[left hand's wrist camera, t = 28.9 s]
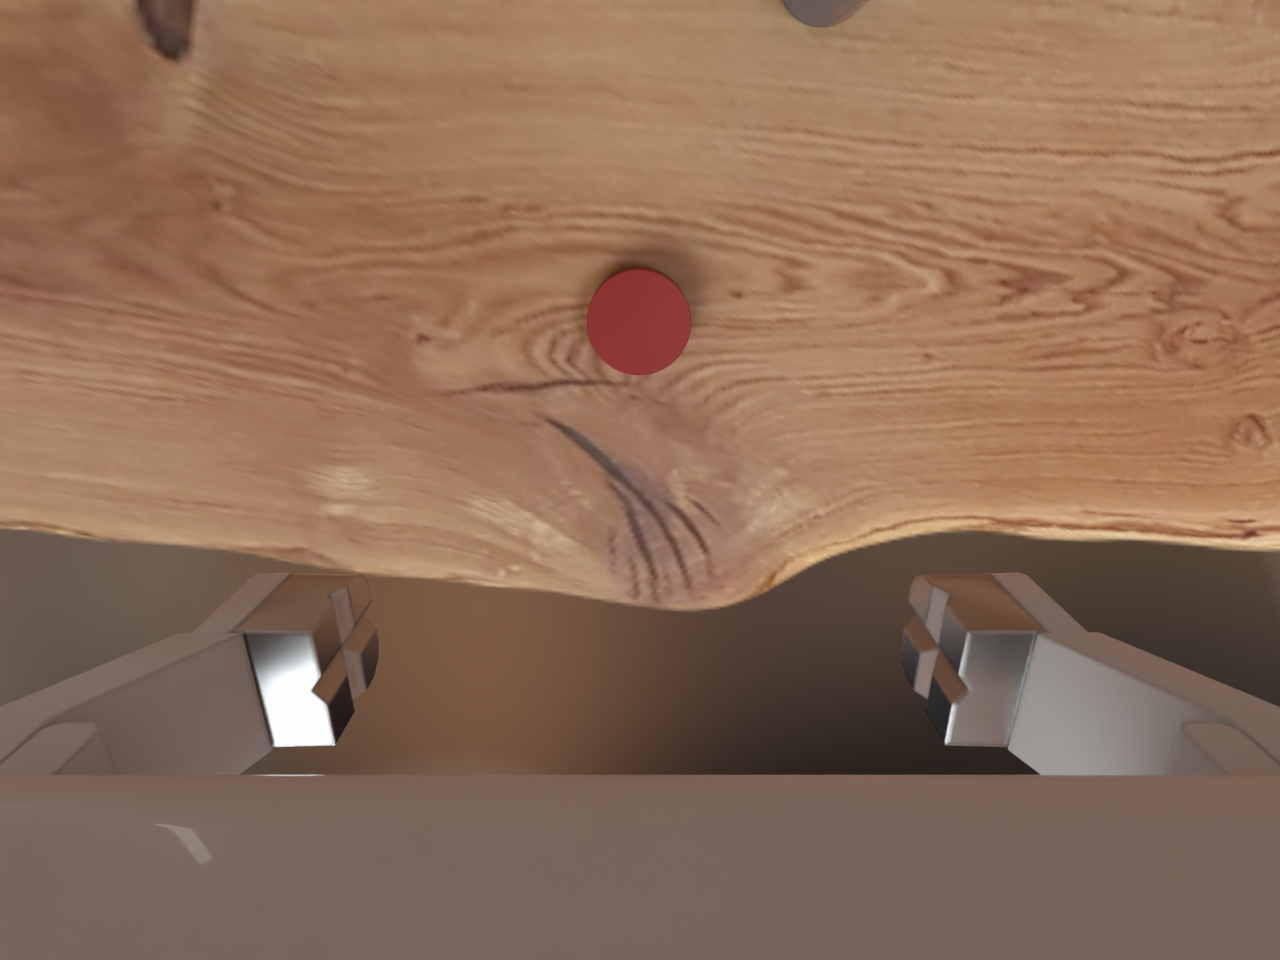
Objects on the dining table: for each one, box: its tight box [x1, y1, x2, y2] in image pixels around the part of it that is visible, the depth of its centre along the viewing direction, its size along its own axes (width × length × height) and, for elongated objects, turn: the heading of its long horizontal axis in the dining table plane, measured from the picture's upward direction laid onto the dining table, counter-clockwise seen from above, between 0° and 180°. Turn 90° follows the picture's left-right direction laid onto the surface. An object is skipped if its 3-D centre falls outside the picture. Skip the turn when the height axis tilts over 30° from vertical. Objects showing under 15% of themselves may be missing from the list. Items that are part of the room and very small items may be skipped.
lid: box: [587, 267, 691, 375], centre depth 37 cm, size 6×6×2 cm
